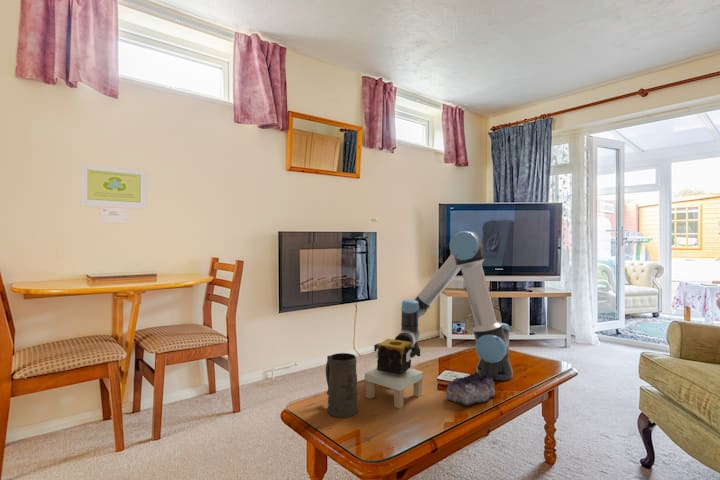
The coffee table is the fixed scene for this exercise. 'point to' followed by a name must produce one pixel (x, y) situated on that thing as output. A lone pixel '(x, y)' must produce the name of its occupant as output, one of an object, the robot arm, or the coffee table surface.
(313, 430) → the coffee table surface
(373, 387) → the footstool
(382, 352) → the candle
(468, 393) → the geode
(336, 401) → the beer stein
